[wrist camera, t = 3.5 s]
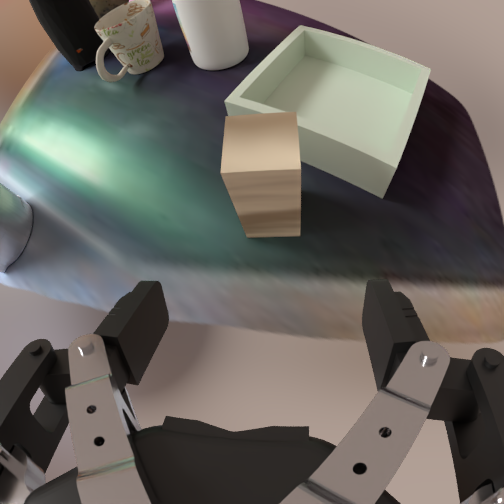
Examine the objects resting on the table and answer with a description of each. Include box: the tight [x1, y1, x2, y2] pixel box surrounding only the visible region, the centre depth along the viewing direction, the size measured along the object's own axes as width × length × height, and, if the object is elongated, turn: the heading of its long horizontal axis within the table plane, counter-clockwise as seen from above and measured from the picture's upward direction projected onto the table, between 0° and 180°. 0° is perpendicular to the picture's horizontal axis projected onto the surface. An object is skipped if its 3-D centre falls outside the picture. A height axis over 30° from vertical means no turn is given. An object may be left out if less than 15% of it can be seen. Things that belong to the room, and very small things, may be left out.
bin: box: [224, 25, 431, 199], centre depth 28 cm, size 16×16×5 cm
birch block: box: [221, 112, 301, 238], centre depth 22 cm, size 4×4×10 cm
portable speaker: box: [29, 0, 110, 71], centre depth 33 cm, size 9×9×20 cm
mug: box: [94, 0, 164, 82], centre depth 33 cm, size 8×13×10 cm, turn 164°
